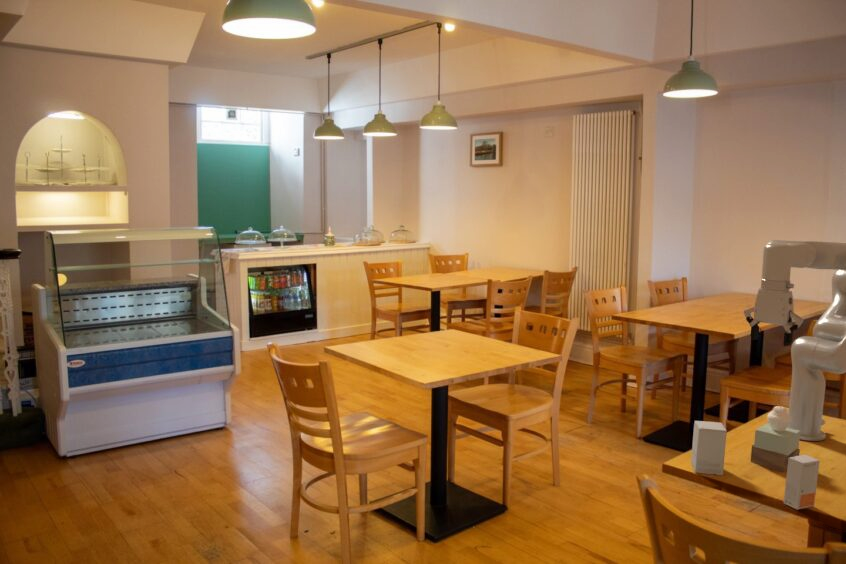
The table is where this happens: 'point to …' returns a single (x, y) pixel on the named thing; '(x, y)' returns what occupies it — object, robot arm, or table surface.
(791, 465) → the skincare box
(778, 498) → the table surface
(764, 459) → the bottom block
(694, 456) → the supplement box
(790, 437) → the top block
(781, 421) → the muffin
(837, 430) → the table surface
